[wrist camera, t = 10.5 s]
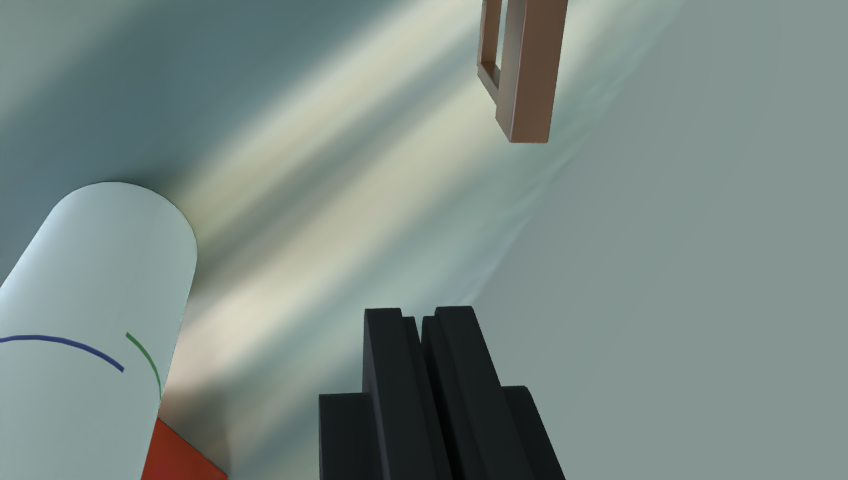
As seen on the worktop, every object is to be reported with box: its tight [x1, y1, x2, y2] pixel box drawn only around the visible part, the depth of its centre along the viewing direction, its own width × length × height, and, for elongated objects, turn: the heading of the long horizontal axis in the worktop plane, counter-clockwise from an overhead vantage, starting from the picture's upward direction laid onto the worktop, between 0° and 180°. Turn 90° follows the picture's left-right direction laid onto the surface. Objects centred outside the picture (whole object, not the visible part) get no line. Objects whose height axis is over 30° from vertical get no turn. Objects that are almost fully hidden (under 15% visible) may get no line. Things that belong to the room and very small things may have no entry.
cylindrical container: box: [0, 182, 198, 480], centre depth 28 cm, size 7×7×25 cm
